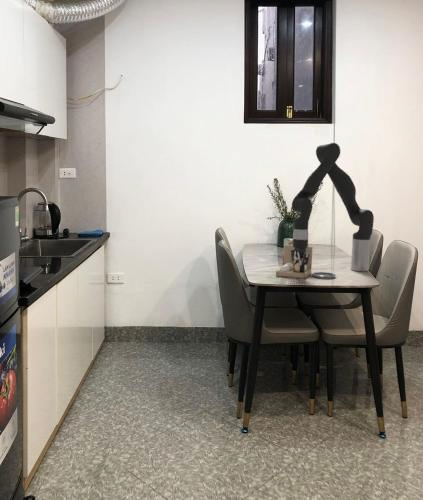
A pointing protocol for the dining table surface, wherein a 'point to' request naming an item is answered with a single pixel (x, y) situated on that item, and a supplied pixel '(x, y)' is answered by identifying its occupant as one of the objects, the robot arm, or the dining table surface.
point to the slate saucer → (324, 275)
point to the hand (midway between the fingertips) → (299, 271)
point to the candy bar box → (287, 242)
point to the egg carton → (289, 259)
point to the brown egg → (297, 267)
